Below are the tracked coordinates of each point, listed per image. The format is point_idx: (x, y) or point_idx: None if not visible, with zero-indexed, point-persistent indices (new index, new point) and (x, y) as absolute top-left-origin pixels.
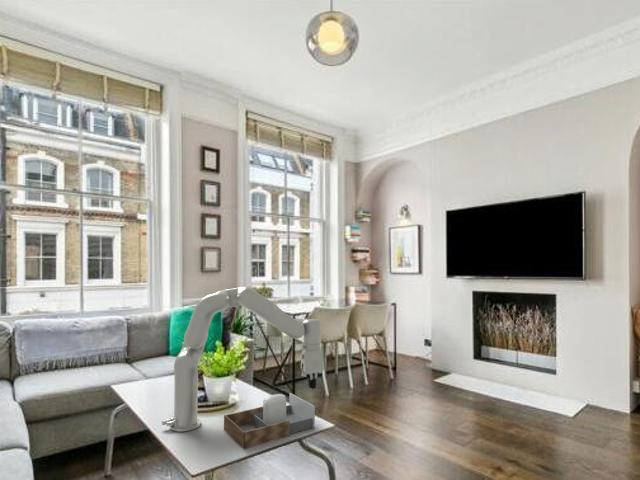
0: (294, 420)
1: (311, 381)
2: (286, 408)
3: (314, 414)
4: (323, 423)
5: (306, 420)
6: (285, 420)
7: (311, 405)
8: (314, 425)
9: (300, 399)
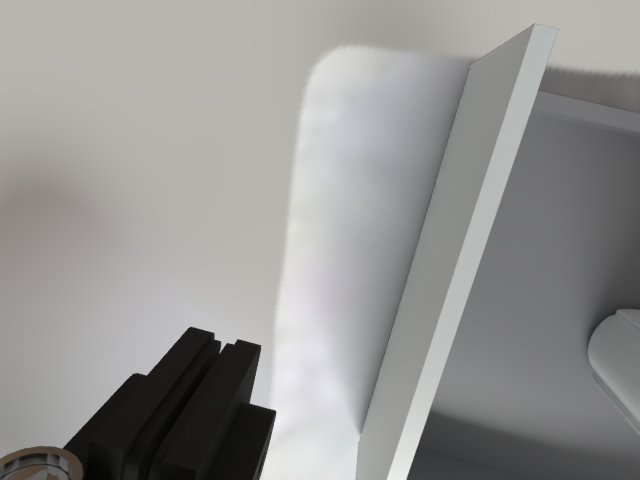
0: (506, 290)
1: (215, 476)
2: (424, 476)
3: (504, 46)
4: (320, 87)
5: (576, 101)
6: (637, 315)
7: (534, 96)
8: (477, 61)
9: (437, 383)
